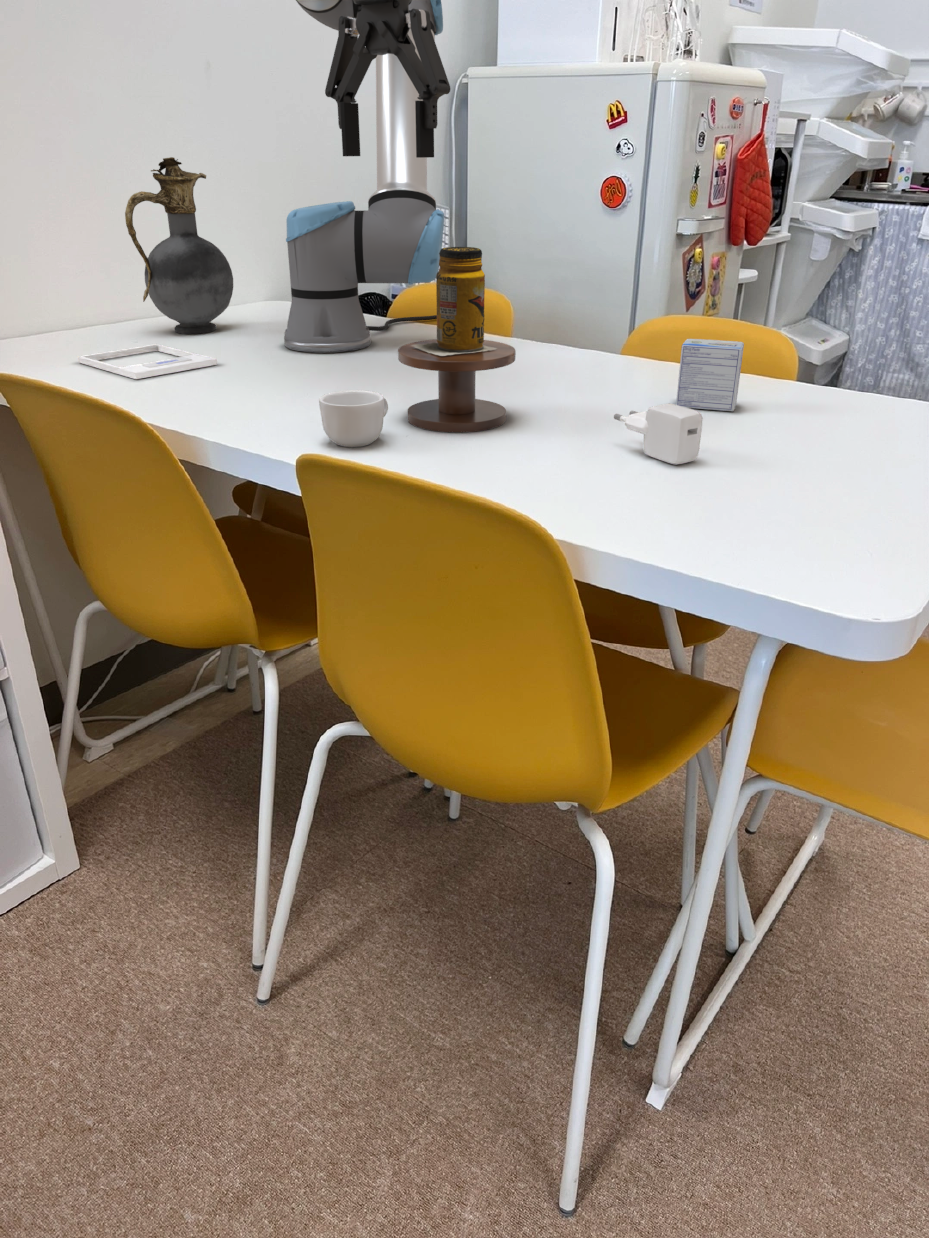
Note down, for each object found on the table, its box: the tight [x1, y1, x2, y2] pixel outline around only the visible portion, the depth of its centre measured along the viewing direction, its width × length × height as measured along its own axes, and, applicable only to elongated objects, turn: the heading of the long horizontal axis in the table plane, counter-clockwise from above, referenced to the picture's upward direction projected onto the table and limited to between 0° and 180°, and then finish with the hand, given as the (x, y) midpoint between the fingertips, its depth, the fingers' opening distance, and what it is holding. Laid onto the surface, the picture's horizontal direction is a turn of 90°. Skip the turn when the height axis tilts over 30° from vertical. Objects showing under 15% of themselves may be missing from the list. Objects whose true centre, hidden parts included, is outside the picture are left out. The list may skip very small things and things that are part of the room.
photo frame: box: [76, 343, 218, 380], centre depth 153 cm, size 15×1×18 cm
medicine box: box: [675, 338, 745, 412], centre depth 128 cm, size 8×4×9 cm, turn 71°
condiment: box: [411, 246, 498, 356], centre depth 117 cm, size 7×8×12 cm
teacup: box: [318, 389, 389, 448], centre depth 113 cm, size 10×8×5 cm
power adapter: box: [613, 403, 704, 465], centre depth 109 cm, size 11×5×6 cm, turn 35°
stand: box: [397, 338, 517, 434], centre depth 122 cm, size 15×15×9 cm
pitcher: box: [124, 156, 234, 335], centre depth 172 cm, size 11×19×30 cm, turn 139°
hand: (387, 157), depth 127 cm, fingers open, 13 cm apart
